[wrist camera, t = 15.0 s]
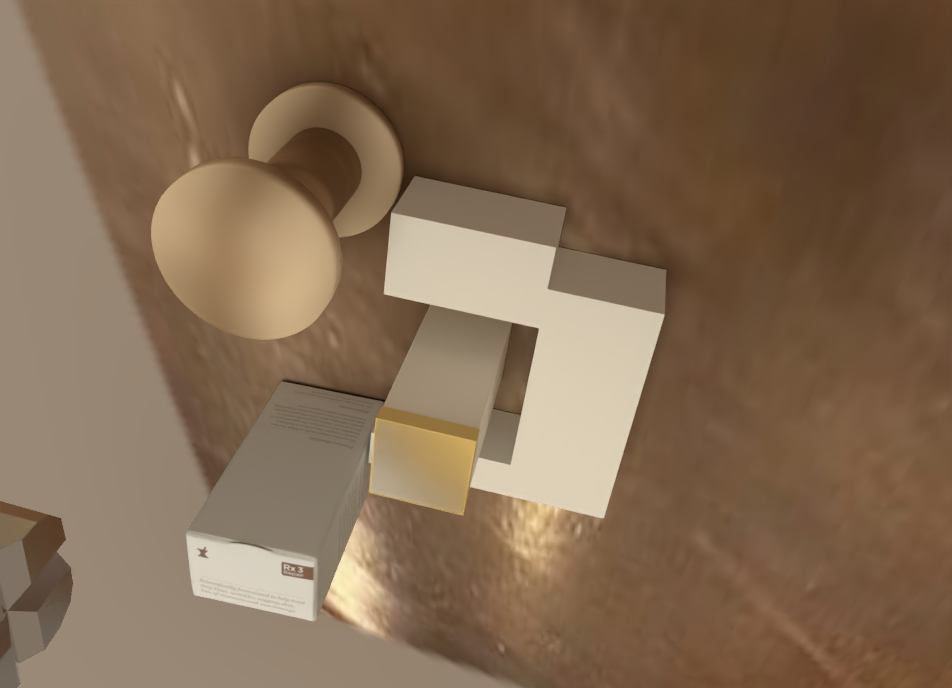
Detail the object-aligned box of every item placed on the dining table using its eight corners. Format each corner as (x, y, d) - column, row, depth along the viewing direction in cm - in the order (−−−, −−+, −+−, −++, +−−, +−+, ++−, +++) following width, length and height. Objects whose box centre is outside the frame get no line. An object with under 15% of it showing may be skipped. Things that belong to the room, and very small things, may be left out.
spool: (411, 98, 39) (338, 190, 31) (397, 241, 43) (329, 356, 35) (256, 67, 40) (144, 149, 31) (257, 211, 44) (157, 317, 35)
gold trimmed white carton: (515, 312, 44) (476, 441, 36) (502, 379, 46) (462, 515, 38) (433, 294, 44) (375, 417, 36) (424, 362, 47) (368, 492, 38)
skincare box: (282, 437, 51) (185, 601, 41) (280, 373, 49) (176, 531, 39) (387, 459, 51) (315, 631, 41) (391, 395, 48) (315, 562, 38)
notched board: (677, 230, 40) (676, 273, 37) (608, 465, 48) (603, 518, 45) (414, 176, 41) (391, 212, 38) (389, 415, 49) (368, 462, 46)
